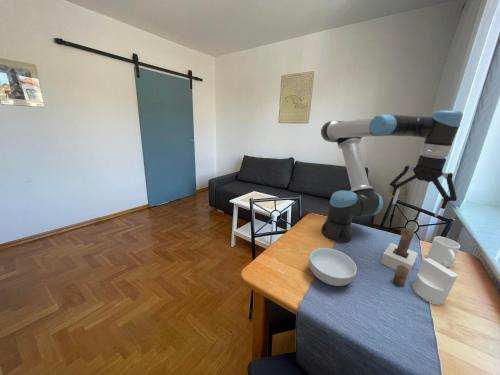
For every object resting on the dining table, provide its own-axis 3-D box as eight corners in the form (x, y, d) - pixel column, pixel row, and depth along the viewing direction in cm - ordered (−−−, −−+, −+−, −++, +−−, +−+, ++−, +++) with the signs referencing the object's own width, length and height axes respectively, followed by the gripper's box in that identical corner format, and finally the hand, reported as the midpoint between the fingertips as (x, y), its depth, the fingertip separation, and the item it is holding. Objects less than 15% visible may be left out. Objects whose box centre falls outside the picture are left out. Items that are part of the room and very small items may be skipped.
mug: (460, 276, 82) (470, 255, 78) (435, 270, 84) (444, 249, 81) (445, 258, 92) (453, 238, 89) (423, 253, 95) (430, 234, 91)
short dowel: (391, 283, 77) (396, 268, 74) (393, 278, 79) (398, 263, 77) (402, 288, 74) (408, 273, 72) (404, 283, 77) (410, 268, 74)
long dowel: (391, 262, 88) (402, 230, 82) (393, 259, 90) (404, 227, 85) (401, 266, 85) (413, 234, 80) (403, 263, 88) (414, 231, 82)
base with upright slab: (451, 301, 70) (465, 273, 66) (432, 307, 67) (446, 278, 63) (423, 281, 78) (434, 256, 74) (406, 286, 75) (416, 260, 71)
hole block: (380, 262, 87) (383, 253, 86) (388, 251, 95) (391, 242, 93) (408, 276, 81) (412, 265, 79) (414, 262, 88) (418, 253, 87)
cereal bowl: (330, 300, 68) (334, 284, 66) (298, 268, 82) (300, 254, 80) (362, 283, 76) (367, 268, 73) (328, 257, 90) (331, 243, 87)
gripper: (390, 151, 79) (376, 201, 87) (483, 164, 62) (456, 224, 70) (395, 149, 84) (381, 196, 91) (483, 161, 67) (457, 218, 74)
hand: (413, 209), depth 80 cm, fingers open, 13 cm apart
